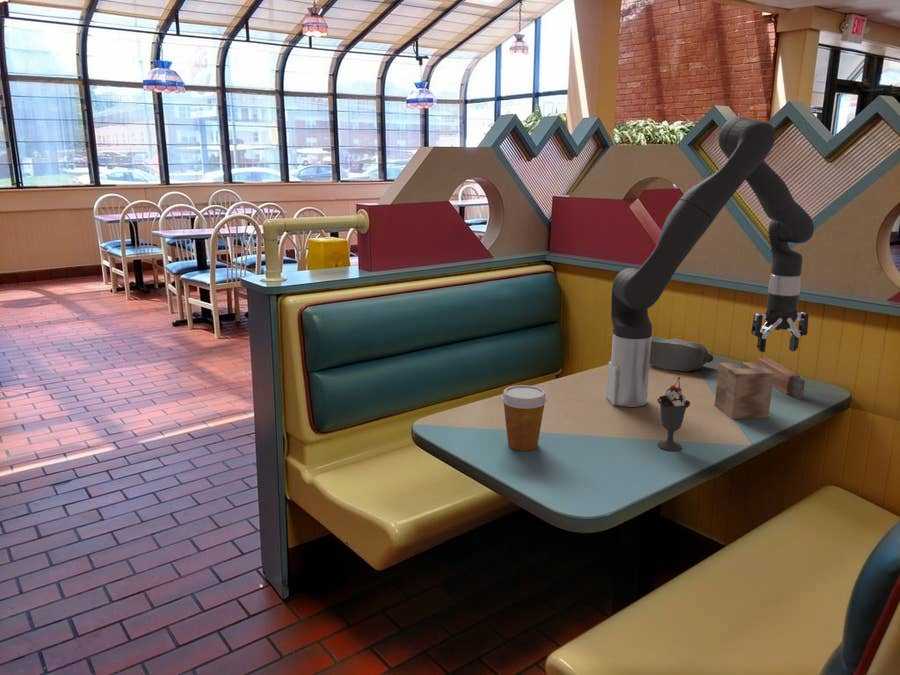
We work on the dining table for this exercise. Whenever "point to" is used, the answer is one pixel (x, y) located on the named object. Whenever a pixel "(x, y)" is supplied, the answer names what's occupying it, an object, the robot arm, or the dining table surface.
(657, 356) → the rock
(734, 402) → the slotted tan block
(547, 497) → the dining table surface
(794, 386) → the bed rail
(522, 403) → the disposable coffee cup
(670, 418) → the sundae
